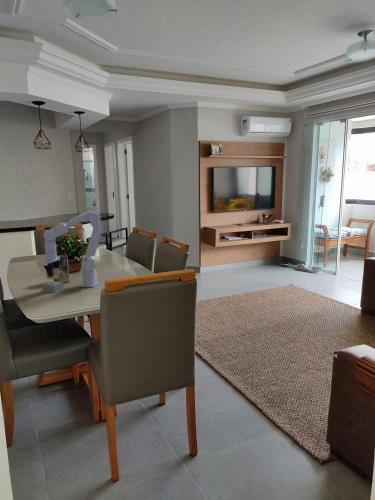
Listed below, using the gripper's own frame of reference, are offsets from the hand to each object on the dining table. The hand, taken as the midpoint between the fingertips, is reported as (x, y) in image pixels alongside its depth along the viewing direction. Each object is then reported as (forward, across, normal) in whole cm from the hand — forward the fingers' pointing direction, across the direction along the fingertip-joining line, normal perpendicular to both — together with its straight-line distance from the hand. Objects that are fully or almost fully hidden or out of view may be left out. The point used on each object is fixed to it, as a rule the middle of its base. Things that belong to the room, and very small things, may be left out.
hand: (53, 275), depth 203 cm
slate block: (+9, -1, -1) cm, 9 cm away
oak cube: (+2, 0, 0) cm, 2 cm away
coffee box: (+9, -18, -5) cm, 20 cm away
